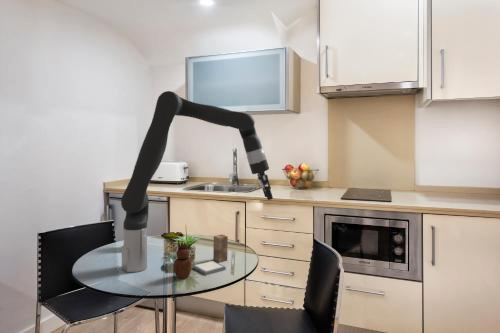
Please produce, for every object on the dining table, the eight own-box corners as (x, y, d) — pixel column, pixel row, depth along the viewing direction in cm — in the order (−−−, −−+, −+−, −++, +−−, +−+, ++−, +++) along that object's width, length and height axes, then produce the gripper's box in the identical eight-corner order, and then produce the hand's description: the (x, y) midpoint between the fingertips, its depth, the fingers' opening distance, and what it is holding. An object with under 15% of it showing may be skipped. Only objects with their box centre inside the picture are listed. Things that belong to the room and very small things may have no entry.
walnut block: (219, 262, 153) (219, 238, 152) (213, 259, 157) (213, 236, 156) (227, 260, 156) (227, 236, 155) (221, 257, 159) (221, 234, 159)
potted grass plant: (174, 280, 132) (174, 242, 131) (173, 274, 138) (173, 238, 137) (192, 279, 134) (192, 241, 133) (190, 273, 140) (190, 237, 139)
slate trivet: (205, 275, 138) (205, 272, 138) (192, 268, 146) (192, 265, 146) (225, 269, 145) (225, 266, 145) (212, 263, 152) (212, 260, 152)
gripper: (247, 163, 150) (258, 198, 151) (250, 164, 136) (262, 203, 137) (263, 157, 151) (274, 193, 152) (268, 158, 137) (280, 197, 138)
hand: (269, 197), depth 145 cm, fingers open, 8 cm apart
